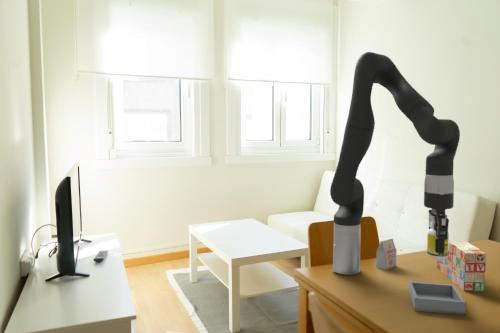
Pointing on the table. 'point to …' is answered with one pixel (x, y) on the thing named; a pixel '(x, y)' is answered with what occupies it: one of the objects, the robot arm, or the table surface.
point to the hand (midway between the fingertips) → (437, 249)
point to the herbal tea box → (386, 255)
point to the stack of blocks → (464, 266)
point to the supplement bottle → (431, 245)
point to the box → (436, 298)
